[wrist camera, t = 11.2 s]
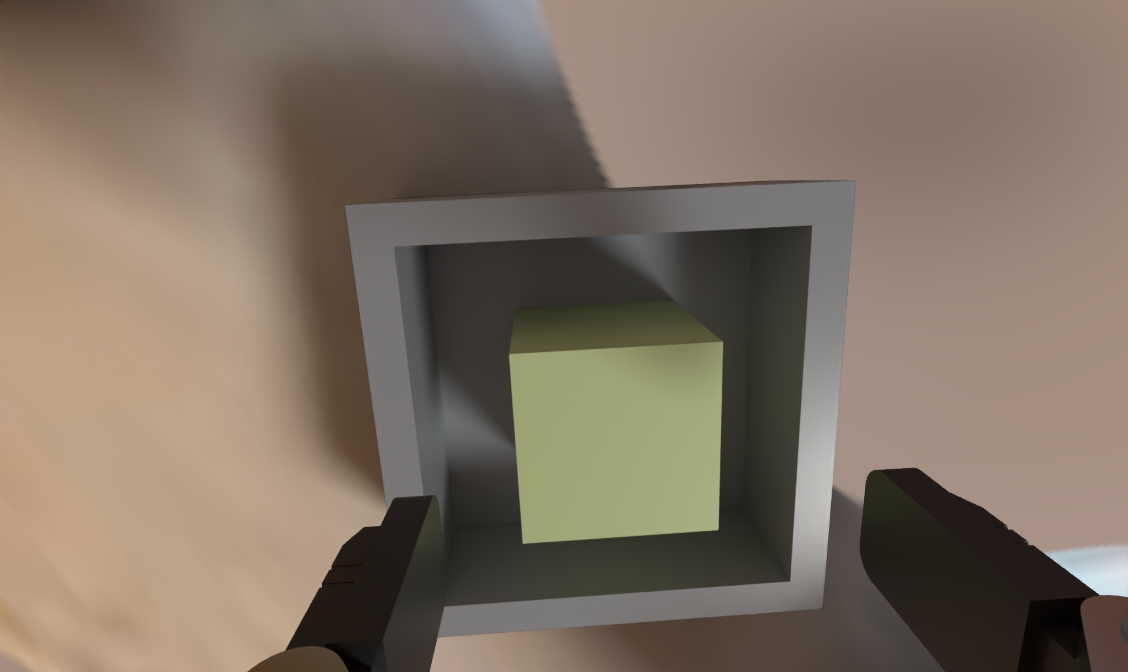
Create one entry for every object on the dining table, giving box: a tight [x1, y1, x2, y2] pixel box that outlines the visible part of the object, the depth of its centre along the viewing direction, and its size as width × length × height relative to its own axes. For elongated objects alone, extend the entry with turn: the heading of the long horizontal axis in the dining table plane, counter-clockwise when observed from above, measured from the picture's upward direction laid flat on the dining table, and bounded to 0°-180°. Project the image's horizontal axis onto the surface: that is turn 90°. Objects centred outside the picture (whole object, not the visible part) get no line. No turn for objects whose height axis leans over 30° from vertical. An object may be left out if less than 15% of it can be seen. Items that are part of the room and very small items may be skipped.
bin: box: [345, 180, 856, 638], centre depth 18 cm, size 12×12×5 cm
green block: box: [509, 300, 723, 544], centre depth 17 cm, size 5×5×5 cm
